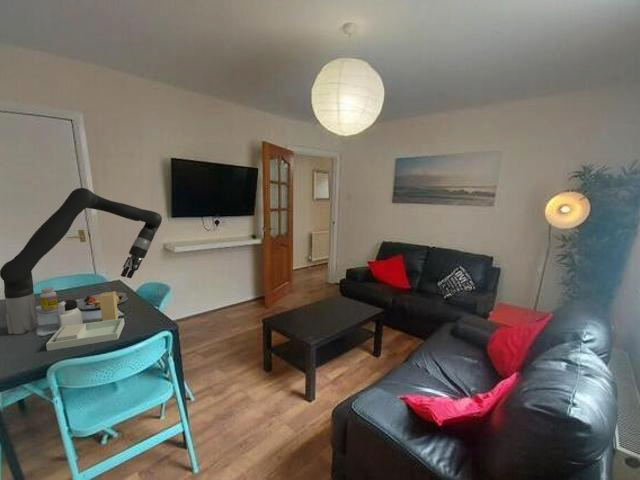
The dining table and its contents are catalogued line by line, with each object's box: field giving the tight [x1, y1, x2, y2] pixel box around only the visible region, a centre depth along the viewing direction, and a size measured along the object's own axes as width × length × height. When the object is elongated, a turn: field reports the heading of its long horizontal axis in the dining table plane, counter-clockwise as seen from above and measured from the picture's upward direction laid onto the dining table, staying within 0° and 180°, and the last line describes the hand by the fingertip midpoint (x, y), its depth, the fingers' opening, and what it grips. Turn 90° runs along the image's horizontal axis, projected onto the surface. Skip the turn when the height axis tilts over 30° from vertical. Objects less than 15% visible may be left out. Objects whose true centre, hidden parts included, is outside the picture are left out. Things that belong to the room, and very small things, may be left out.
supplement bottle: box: [39, 286, 59, 314], centre depth 155 cm, size 7×7×13 cm
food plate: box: [77, 290, 129, 310], centre depth 169 cm, size 25×23×4 cm
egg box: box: [56, 322, 86, 342], centre depth 127 cm, size 7×12×4 cm, turn 25°
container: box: [56, 299, 84, 328], centre depth 138 cm, size 8×8×13 cm
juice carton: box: [99, 290, 119, 321], centre depth 144 cm, size 6×6×15 cm
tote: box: [45, 317, 126, 352], centre depth 129 cm, size 24×16×4 cm, turn 115°
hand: (125, 277), depth 146 cm, fingers open, 8 cm apart
